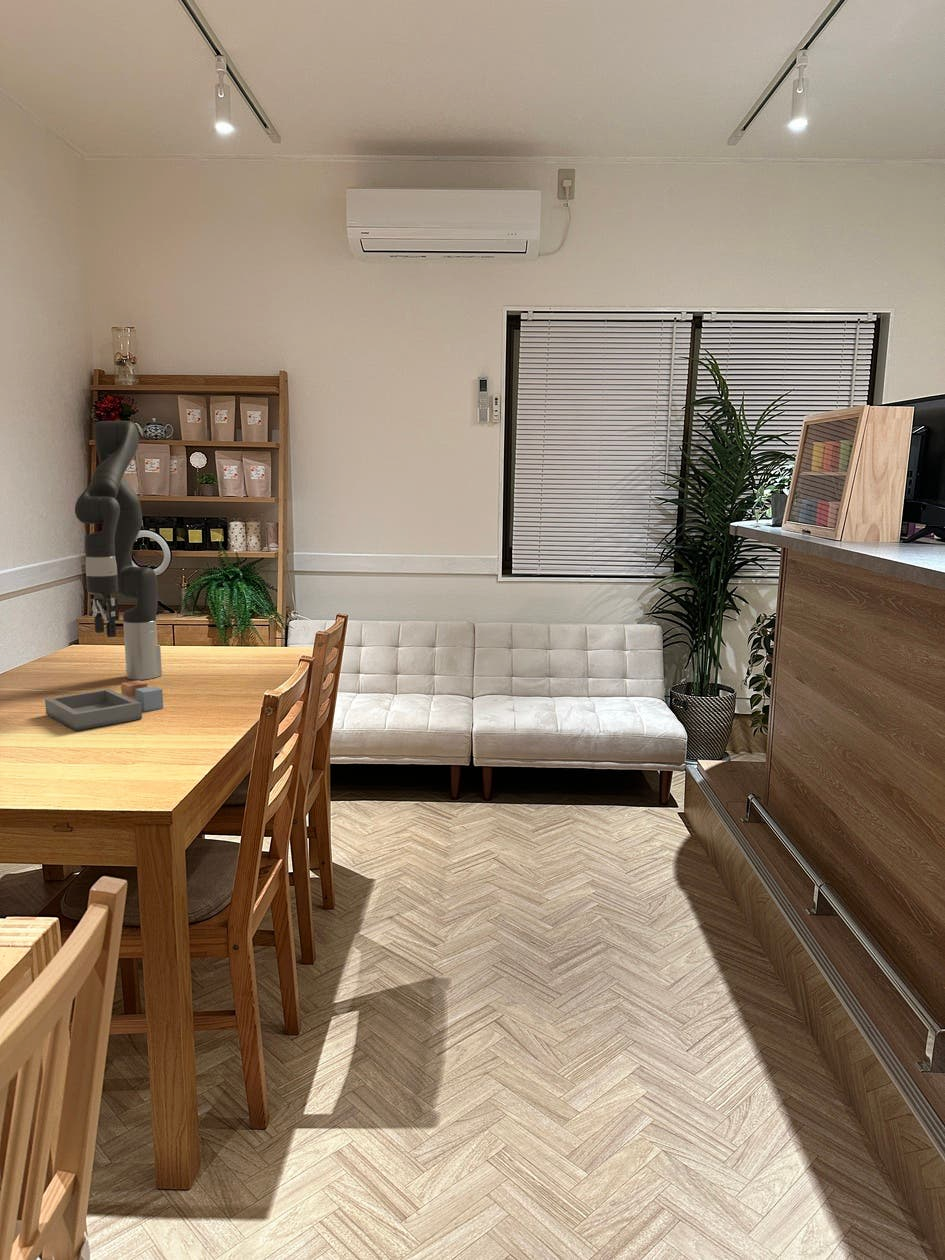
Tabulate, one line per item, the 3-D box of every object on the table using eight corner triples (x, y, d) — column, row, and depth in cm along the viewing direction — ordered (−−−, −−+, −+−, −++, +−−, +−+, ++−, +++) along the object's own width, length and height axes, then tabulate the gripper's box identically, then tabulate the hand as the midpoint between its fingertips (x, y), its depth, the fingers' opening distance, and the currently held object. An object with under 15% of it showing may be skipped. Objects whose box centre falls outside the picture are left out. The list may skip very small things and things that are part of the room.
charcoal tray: (109, 703, 227) (108, 688, 227) (142, 718, 213) (141, 702, 213) (46, 714, 216) (44, 698, 216) (75, 730, 202) (74, 714, 202)
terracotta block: (140, 698, 234) (139, 680, 233) (148, 701, 230) (147, 683, 229) (122, 701, 230) (121, 683, 229) (129, 704, 227) (128, 686, 226)
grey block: (154, 704, 227) (153, 686, 226) (163, 708, 224) (162, 689, 223) (136, 707, 224) (135, 688, 223) (144, 711, 220) (143, 692, 219)
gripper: (126, 575, 221) (130, 636, 224) (106, 570, 231) (109, 629, 234) (96, 576, 216) (100, 640, 219) (77, 572, 226) (81, 632, 229)
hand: (105, 634), depth 226 cm, fingers open, 8 cm apart
